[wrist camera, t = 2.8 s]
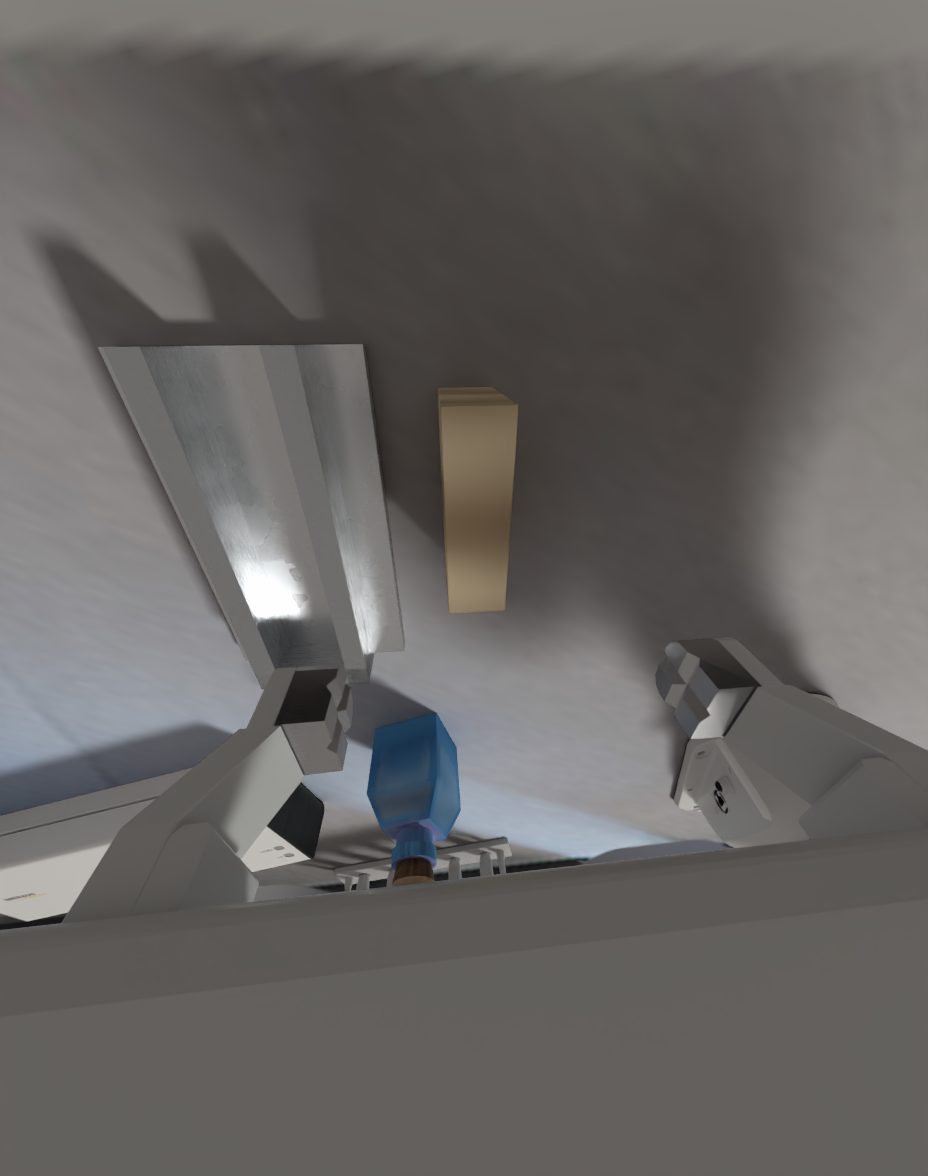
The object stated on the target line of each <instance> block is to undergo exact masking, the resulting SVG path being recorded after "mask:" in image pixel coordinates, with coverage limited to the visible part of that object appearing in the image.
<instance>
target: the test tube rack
mask: <svg viewBox="0 0 928 1176" xmlns="http://www.w3.org/2000/svg"><path fill="white" fill-rule="evenodd" d="M436 853H437V864H436V866H435V867H434V868H433V870H435V869H441V868H446V867H449V880H454V879H461V868H460V865H463V864H469V863H474V862H480V873H481V876H490V875H493V868H492V862H491V859H498V861H499V868H500V874H506V869H505V862H504V860H505V857H508V856H512V853H511V848H510V845H509V842H508V839H507V838H502V839H496V840H491V841H485V842H480V843H474V844H469V845H463V846H458V847H452V848H447V849H441V850H436ZM391 860H392V858H391V859H386V860H380V861H375V862H369V863H364V864H358V865H353V866H347V867H341V868H336V869H335V872H334V875H335V876H336V877H337V878H339V879H340V880H341V881H342V882H343V883H344V884H345V892H347V891H351V887H352V884H356V883H357V888H356V890H365V889H369V881H373V880H379V879H384V878H388V879H387V887H392V882H393V878H394V874H395V871H394V870H393V869H392V868H391Z"/></svg>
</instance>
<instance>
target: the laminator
mask: <svg viewBox="0 0 928 1176" xmlns="http://www.w3.org/2000/svg"><path fill="white" fill-rule="evenodd" d="M191 769H192V768H189V769H185V770H181V771H177V772H173V773H169V774H165V775H161V776H157V777H153V778H149V779H145V780H141V781H137V782H133V783H129V784H125V785H121V786H117V787H113V788H109V789H105V790H101V791H97V792H93V793H89V794H85V795H81V796H77V797H73V798H69V799H65V800H61V801H57V802H53V803H49V804H46V805H42V806H38V807H34V808H30V809H26V810H22V811H18V812H14V813H10V814H6V815H2V816H0V914H2V915H6V916H9V917H12V918H16V919H19V920H22V921H31V920H35V919H40V918H44V917H49V916H53V915H58V914H62V913H67V912H69V910H70V909H71V907H72V906H73V904H74V902H75V901H76V899H77V897H78V896H79V894H80V893H81V891H82V889H83V888H84V886H85V885H86V883H87V881H88V880H89V878H90V877H91V875H92V873H93V872H94V870H95V869H96V867H97V865H98V864H99V862H100V861H101V859H102V857H103V856H104V854H105V853H106V851H107V849H108V848H109V846H110V845H111V843H112V841H113V840H114V838H115V837H116V835H117V833H118V832H119V830H120V829H121V827H123V826H124V825H125V824H126V823H127V822H129V821H130V820H131V819H132V818H133V817H135V816H136V815H137V814H138V813H139V812H141V811H142V810H143V809H144V808H145V807H147V806H148V805H149V804H150V803H151V802H153V801H154V800H155V799H156V798H157V797H159V796H160V795H161V794H162V793H163V792H165V791H166V790H167V789H168V788H169V787H171V786H172V785H173V784H174V783H175V782H177V781H178V780H179V779H180V778H181V777H183V776H184V775H185V774H186V773H187V772H189V771H190V770H191ZM323 815H324V804H323V802H322V801H319V800H318V799H317V798H316V797H315V796H314V795H313V794H312V793H310V792H309V791H308V790H307V789H306V788H305V787H304V786H303V785H302V784H301V783H300V784H299V785H298V786H297V788H296V789H295V790H294V791H293V793H292V794H291V795H290V797H289V798H288V799H287V800H286V802H285V803H284V804H283V806H282V807H281V808H280V809H279V811H278V812H277V813H276V815H275V816H274V817H273V818H272V820H271V821H270V822H269V824H268V825H267V826H266V827H265V829H264V830H263V831H262V833H261V834H260V835H259V836H258V838H257V839H256V840H255V842H254V843H253V844H252V845H251V847H250V848H249V849H248V851H247V852H246V853H245V854H244V856H243V857H242V858H241V860H242V861H243V863H244V864H245V865H246V866H247V867H248V868H249V869H250V870H251V872H254V871H258V870H263V869H267V868H272V867H277V866H281V865H286V864H290V863H295V862H299V861H304V860H308V859H312V858H314V855H315V851H316V847H317V842H318V838H319V833H320V829H321V824H322V820H323Z"/></svg>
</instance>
